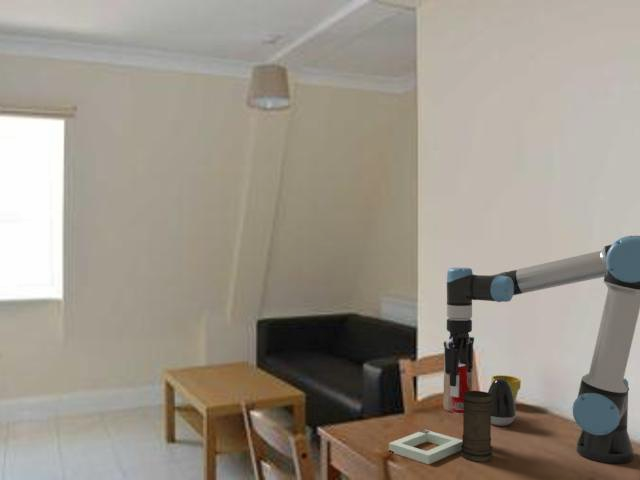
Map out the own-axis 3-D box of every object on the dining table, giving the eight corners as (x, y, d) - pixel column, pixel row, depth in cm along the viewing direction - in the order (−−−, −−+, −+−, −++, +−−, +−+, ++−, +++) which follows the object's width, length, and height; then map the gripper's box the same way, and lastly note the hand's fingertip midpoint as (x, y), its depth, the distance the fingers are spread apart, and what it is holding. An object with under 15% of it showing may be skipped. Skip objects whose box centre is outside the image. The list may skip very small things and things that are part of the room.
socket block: (463, 448, 196) (464, 439, 196) (428, 464, 184) (428, 454, 183) (424, 437, 206) (425, 428, 206) (388, 451, 193) (388, 442, 193)
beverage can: (473, 414, 201) (472, 366, 200) (451, 415, 201) (450, 366, 200) (469, 408, 207) (468, 361, 206) (448, 409, 207) (447, 361, 206)
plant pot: (524, 404, 245) (525, 378, 244) (513, 410, 237) (513, 383, 236) (498, 399, 251) (498, 373, 251) (486, 404, 243) (486, 378, 243)
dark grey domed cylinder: (519, 422, 223) (520, 377, 222) (510, 430, 214) (511, 383, 214) (489, 417, 228) (490, 373, 228) (479, 424, 220) (480, 379, 219)
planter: (477, 409, 238) (478, 346, 237) (462, 415, 230) (463, 350, 230) (452, 403, 245) (454, 342, 244) (437, 409, 237) (439, 345, 236)
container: (486, 464, 184) (488, 400, 184) (455, 457, 189) (457, 395, 189) (496, 454, 192) (498, 393, 191) (466, 448, 197) (467, 388, 196)
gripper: (464, 314, 210) (463, 387, 211) (432, 320, 198) (432, 398, 199) (485, 316, 205) (484, 391, 206) (454, 322, 193) (453, 402, 193)
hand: (459, 394), depth 202 cm, fingers open, 4 cm apart
